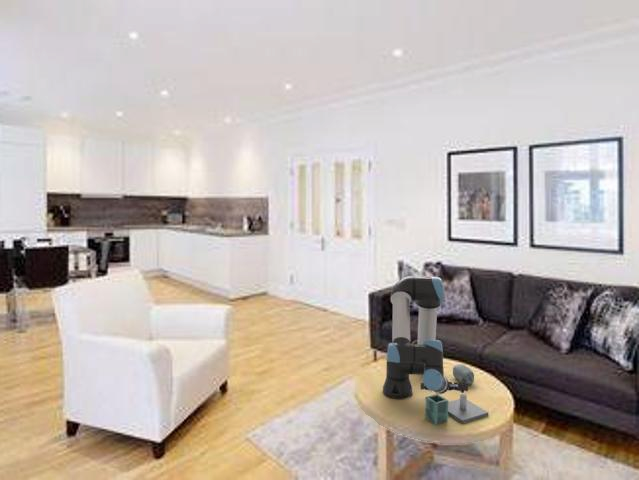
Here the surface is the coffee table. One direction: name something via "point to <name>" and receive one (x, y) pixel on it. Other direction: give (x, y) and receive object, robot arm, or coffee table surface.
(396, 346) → the robot arm
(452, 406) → the hub plate
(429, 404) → the sleeve
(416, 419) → the coffee table surface
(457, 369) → the grey rounded piece
